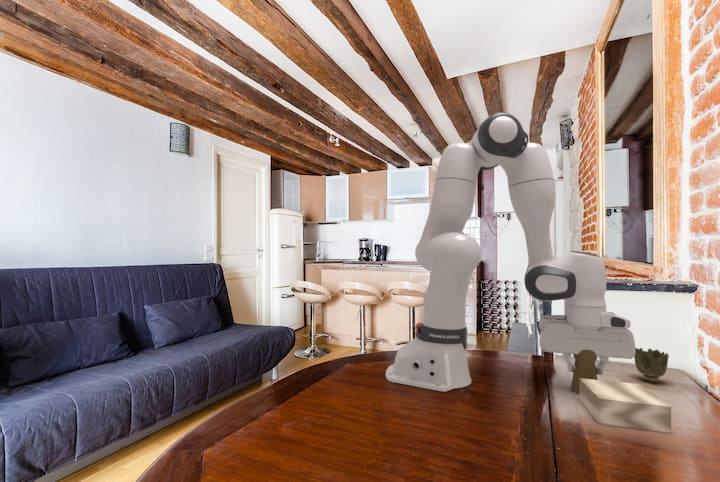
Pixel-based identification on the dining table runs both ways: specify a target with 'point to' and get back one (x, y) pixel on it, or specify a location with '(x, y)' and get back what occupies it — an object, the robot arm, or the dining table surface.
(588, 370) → the cork
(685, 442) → the dining table surface
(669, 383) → the dining table surface
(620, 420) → the plinth
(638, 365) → the cup
